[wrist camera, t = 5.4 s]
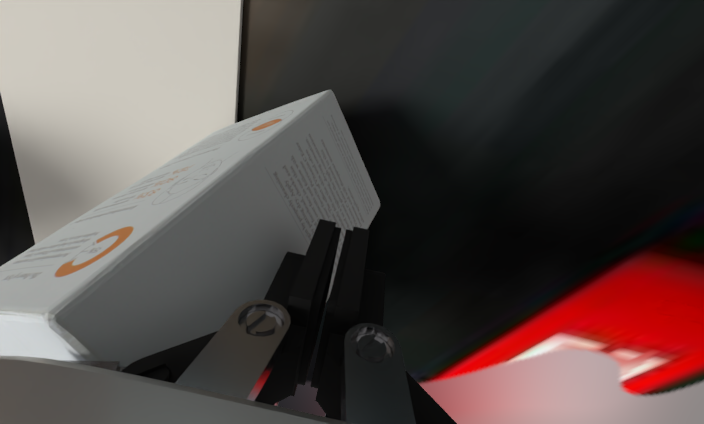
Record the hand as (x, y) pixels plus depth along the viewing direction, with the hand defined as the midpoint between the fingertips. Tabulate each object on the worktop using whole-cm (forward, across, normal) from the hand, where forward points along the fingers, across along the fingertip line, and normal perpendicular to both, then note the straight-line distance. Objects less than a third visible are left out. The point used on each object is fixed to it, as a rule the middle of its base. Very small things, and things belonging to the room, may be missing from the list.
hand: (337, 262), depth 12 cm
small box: (+8, +3, 0) cm, 9 cm away
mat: (+10, +14, +1) cm, 17 cm away
